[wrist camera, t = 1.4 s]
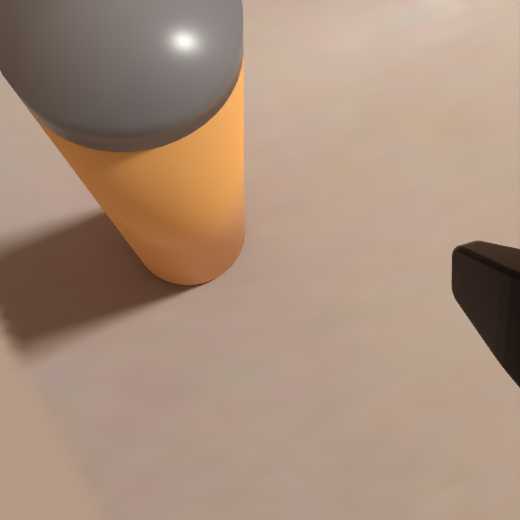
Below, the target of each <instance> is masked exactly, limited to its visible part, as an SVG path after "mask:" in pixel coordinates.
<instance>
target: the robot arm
mask: <svg viewBox="0 0 520 520" xmlns="http://www.w3.org/2000/svg"><path fill="white" fill-rule="evenodd" d="M452 292H453V295H454V297H455V299H456V301H457V302H458V304H459V305H460V307H461V308H462V310H463V311H464V312H465V314H466V315H467V317H468V318H469V320H470V321H471V323H472V324H473V326H474V327H475V328H476V330H477V331H478V333H479V334H480V336H481V337H482V339H483V340H484V341H485V343H486V344H487V346H488V347H489V349H490V350H491V352H492V353H493V355H494V356H495V357H496V359H497V360H498V361H499V363H500V364H501V366H502V367H503V368H504V369H505V371H506V372H507V373H508V374H509V375H510V377H511V378H512V379H513V380H514V381H515V383H516V384H517V385H518V386H519V387H520V249H517V248H512V247H507V246H502V245H497V244H493V243H488V242H483V241H473V242H470V243H466V244H463V245H460V246H457V247H456V248H455V249H454V250H453V253H452Z"/></svg>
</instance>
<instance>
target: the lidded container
mask: <svg viewBox="0 0 520 520" xmlns="http://www.w3.org/2000/svg"><path fill="white" fill-rule="evenodd" d="M0 71H1V72H2V74H3V76H4V77H5V79H6V80H7V81H8V83H9V84H10V85H11V87H12V88H13V89H14V91H15V92H16V93H17V95H18V96H19V97H20V99H21V100H22V101H23V103H24V104H25V105H26V107H27V108H28V109H29V111H30V112H31V113H32V115H33V116H34V118H35V119H36V120H37V122H38V123H39V124H40V126H41V127H42V128H43V130H44V131H45V132H46V134H47V135H48V136H49V138H50V139H51V140H52V142H53V143H54V144H55V146H56V147H57V148H58V150H59V151H60V152H61V154H62V155H63V156H64V158H65V159H66V160H67V162H68V163H69V164H70V166H71V167H72V168H73V170H74V171H75V172H76V174H77V175H78V177H79V178H80V179H81V181H82V182H83V183H84V185H85V186H86V187H87V189H88V190H89V191H90V193H91V194H92V195H93V197H94V198H95V199H96V201H97V202H98V203H99V205H100V206H101V207H102V209H103V210H104V211H105V213H106V214H107V215H108V217H109V218H110V219H111V221H112V222H113V223H114V225H115V226H116V227H117V229H118V230H119V231H120V233H121V234H122V236H123V237H124V238H125V240H126V241H127V242H128V244H129V245H130V246H131V248H132V249H133V250H134V252H135V253H136V254H137V256H138V257H139V258H140V260H141V261H142V262H143V264H144V265H145V266H146V267H147V268H148V269H149V270H150V271H151V272H152V273H153V274H154V275H156V276H157V277H159V278H161V279H163V280H165V281H167V282H170V283H174V284H179V285H196V284H201V283H205V282H208V281H210V280H213V279H215V278H217V277H218V276H220V275H221V274H223V273H224V272H225V271H227V270H228V269H229V268H230V267H231V266H232V264H233V263H234V262H235V260H236V259H237V257H238V255H239V253H240V251H241V249H242V245H243V242H244V234H245V231H244V88H243V7H242V1H241V0H0Z"/></svg>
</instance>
